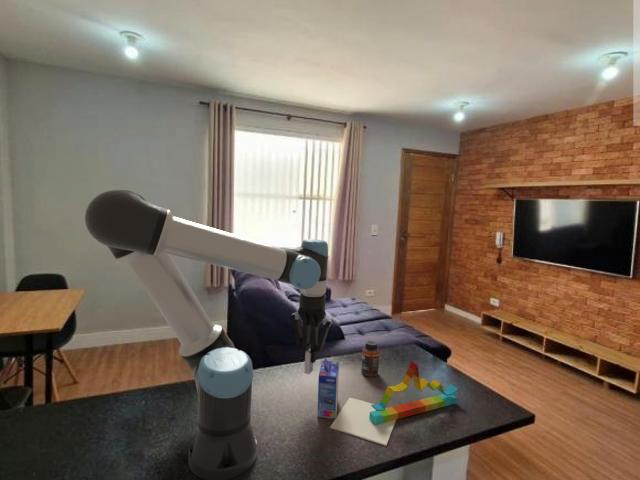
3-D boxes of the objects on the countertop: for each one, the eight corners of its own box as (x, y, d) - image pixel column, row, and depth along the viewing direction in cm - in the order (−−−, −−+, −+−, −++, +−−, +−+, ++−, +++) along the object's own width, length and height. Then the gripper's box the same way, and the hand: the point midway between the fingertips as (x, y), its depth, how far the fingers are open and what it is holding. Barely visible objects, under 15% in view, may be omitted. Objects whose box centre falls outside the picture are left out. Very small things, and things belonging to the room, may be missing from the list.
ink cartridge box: (319, 398, 107) (322, 352, 105) (337, 400, 106) (340, 354, 105) (315, 417, 97) (318, 367, 95) (335, 419, 96) (339, 369, 95)
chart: (448, 397, 111) (453, 352, 109) (456, 403, 108) (462, 356, 106) (368, 418, 97) (373, 366, 95) (375, 425, 94) (380, 372, 92)
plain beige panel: (330, 427, 92) (330, 426, 92) (349, 398, 107) (349, 397, 107) (386, 446, 87) (386, 444, 87) (398, 412, 101) (398, 411, 101)
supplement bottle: (380, 372, 125) (382, 342, 124) (374, 379, 120) (376, 347, 119) (365, 367, 128) (367, 338, 127) (358, 374, 123) (360, 343, 122)
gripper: (338, 293, 102) (333, 371, 104) (298, 287, 107) (294, 361, 109) (328, 299, 95) (324, 382, 97) (286, 292, 100) (283, 371, 102)
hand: (308, 371), depth 103 cm, fingers closed
